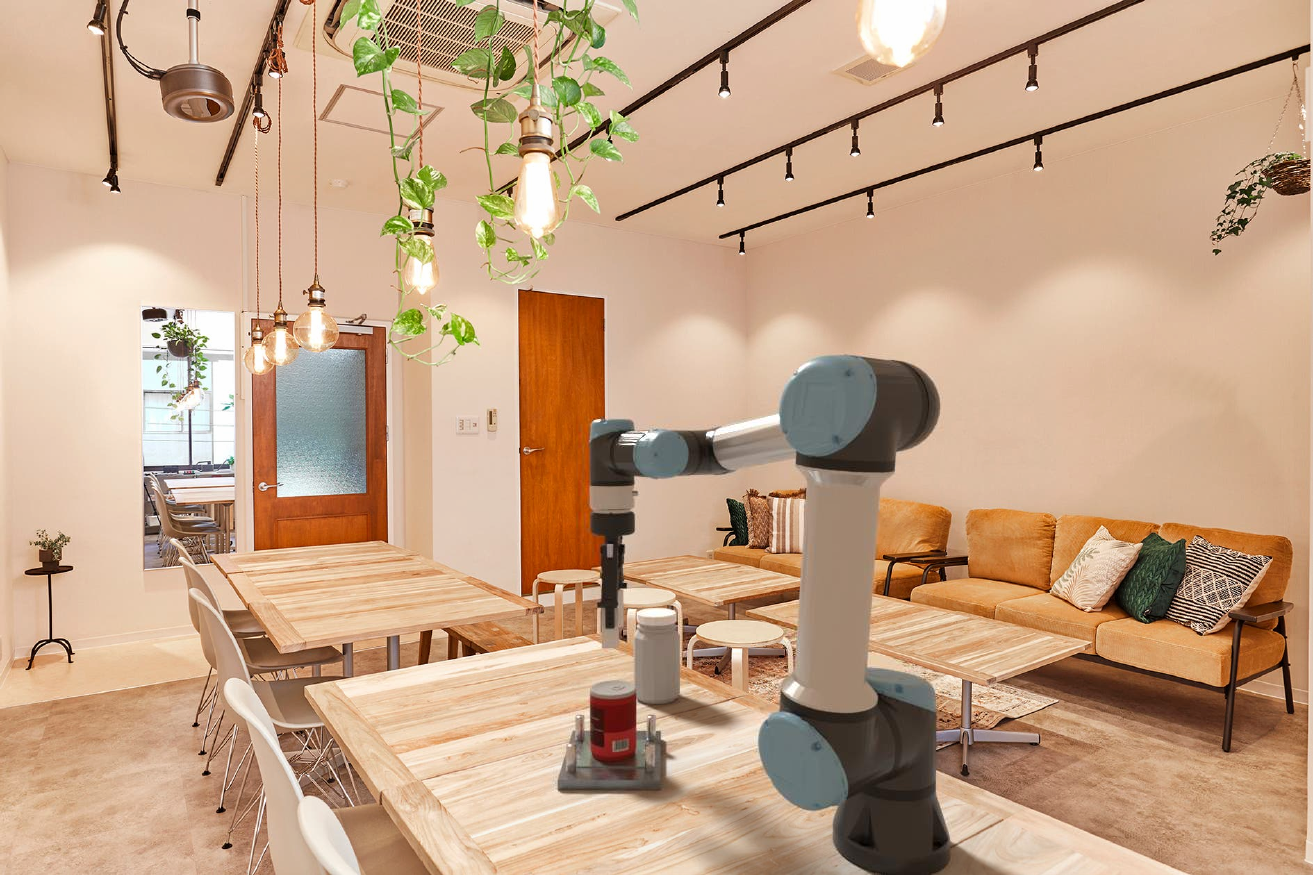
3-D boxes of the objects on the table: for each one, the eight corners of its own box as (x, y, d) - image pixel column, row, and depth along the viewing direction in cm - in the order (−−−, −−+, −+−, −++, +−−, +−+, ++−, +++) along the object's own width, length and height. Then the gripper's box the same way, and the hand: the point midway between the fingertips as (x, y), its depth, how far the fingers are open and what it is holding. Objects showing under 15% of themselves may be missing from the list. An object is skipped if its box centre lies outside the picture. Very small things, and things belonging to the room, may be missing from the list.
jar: (626, 693, 165) (626, 609, 165) (668, 687, 169) (668, 605, 168) (644, 708, 156) (643, 619, 156) (687, 701, 160) (687, 614, 159)
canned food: (644, 747, 132) (644, 683, 132) (622, 765, 125) (622, 697, 125) (604, 740, 135) (604, 677, 135) (581, 757, 128) (581, 691, 128)
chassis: (660, 789, 120) (660, 754, 120) (557, 789, 120) (557, 754, 120) (660, 738, 140) (660, 708, 140) (572, 738, 140) (572, 708, 140)
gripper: (631, 518, 118) (632, 657, 118) (637, 504, 142) (638, 619, 142) (582, 518, 118) (583, 657, 118) (596, 504, 143) (597, 619, 143)
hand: (613, 636), depth 130 cm, fingers open, 13 cm apart
